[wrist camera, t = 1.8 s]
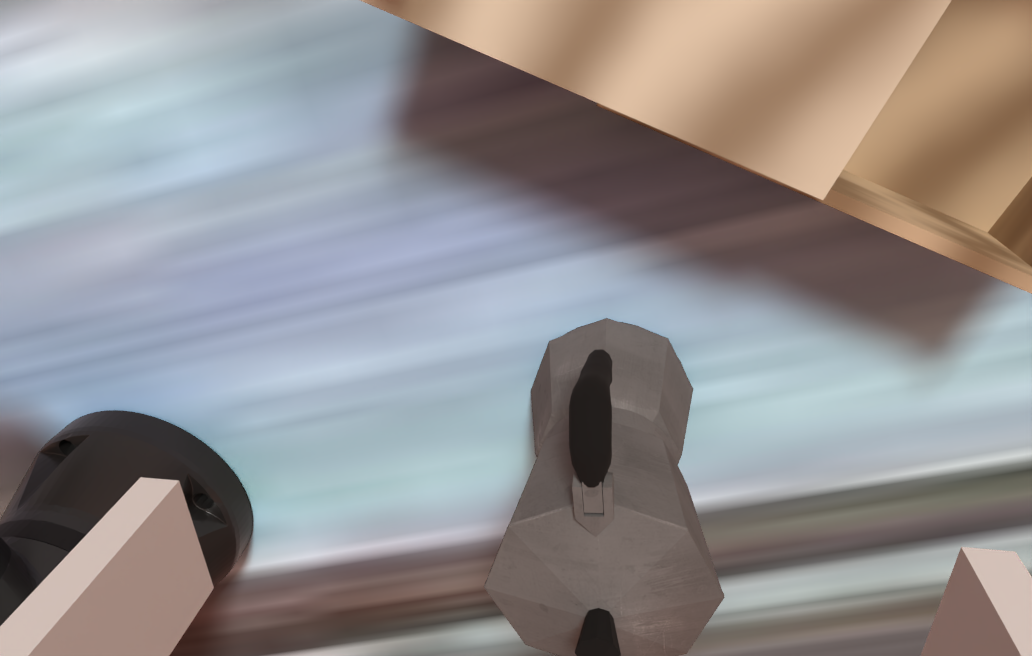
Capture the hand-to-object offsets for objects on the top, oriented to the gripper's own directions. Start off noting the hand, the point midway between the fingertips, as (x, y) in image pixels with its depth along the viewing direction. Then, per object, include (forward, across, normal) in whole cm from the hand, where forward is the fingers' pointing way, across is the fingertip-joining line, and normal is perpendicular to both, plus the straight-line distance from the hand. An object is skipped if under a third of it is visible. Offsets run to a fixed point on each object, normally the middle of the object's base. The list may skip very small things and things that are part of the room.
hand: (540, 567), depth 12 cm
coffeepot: (+26, +1, -12) cm, 29 cm away
